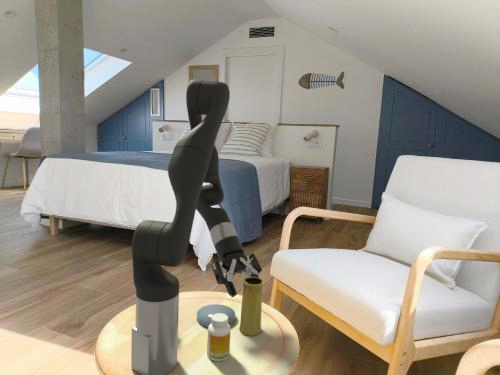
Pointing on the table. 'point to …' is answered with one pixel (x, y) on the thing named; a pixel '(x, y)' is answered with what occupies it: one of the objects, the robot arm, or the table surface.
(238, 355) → the table surface
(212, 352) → the supplement bottle
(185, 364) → the table surface
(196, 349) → the table surface
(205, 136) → the robot arm
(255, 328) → the vase
